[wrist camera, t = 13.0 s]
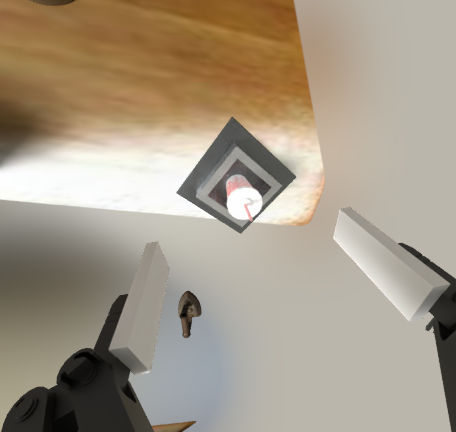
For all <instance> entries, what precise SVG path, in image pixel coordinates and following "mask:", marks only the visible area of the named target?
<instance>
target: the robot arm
mask: <svg viewBox="0 0 456 432" xmlns="http://www.w3.org/2000/svg"><path fill="white" fill-rule="evenodd" d="M30 1H33V2H36V3H39V4H44V5H52V6H53V5H63V4H66V3H69V2H71V1H73V0H30ZM333 238H334V240H335V241H336V242H337V243H338V244H339V245H340V246H341V248H342V249H343V250H344V251H345V252H346V253H347V254H348V255H349V256H350V257H351V259H353V261H354V262H355V263H356V264H357V265H358V266H359V267H360V268H361V269H362V271H363V272H365V274H366V275H367V276H368V277H369V278H370V279H371V280H372V281H373V282H374V283H375V285H376V286H377V287H378V288H379V289H380V290H381V291H382V292H383V294H384V295H385V296H386V297H387V298H388V299H389V300H390V301H391V302H392V303H393V304H394V306H395V307H396V308H397V309H398V310H399V311H400V312H401V313H402V314H403V315H404V317H405V318H407V320H408V321H412V320H417V319H423V318H424V317H425V316H426V314H427V313H428V312H430V313H431V314H432V315H433V316H434V318H433V319H432V320H431V321H430V323H429V324H428V325H427V326H426V330H427V331H429V330H430V329H431V328H432V326H433V329H434V332H433V333H434V334H435V340H436V346H437V351H438V357H439V362H440V368H441V373H442V380H443V385H444V391H445V397H446V403H447V408H448V414H449V420H450V425H451V431H452V432H456V279H455V278H454V277H452V276H451V275H449V274H448V273H447V272H445V271H444V270H443V269H441V268H440V267H438V266H437V265H436V264H434V263H433V262H430V260H429V259H428V258H426V257H425V256H422V254H421V253H419V252H418V251H416V250H415V249H414V248H412V247H410V246H408V245H406V244H403V243H396V242H395V241H393V240H392V239H391V238H390V237H388V236H387V235H386V234H384V233H383V232H382V231H380V230H379V229H378V228H376V227H375V226H374V225H372V224H371V223H370V222H369V221H367V220H366V219H365V218H363V217H362V216H361V215H359V214H358V213H357V212H356V211H354V210H353V209H352V208H350V207H349V208H343V209H340V210H339V214H338V219H337V223H336V228H335V233H334V237H333ZM168 273H169V266H168V264H167V262H166V259H165V257H164V255H163V253H162V250H161V248H160V246H159V243H158V242H152V243H147V244H146V247H145V250H144V253H143V255H142V258H141V261H140V264H139V267H138V269H137V272H136V275H135V277H134V281H133V283H132V286H131V289H130V291H129V294H125V295H120V296H119V297H118V298H117V299H116V301H115V302H114V303H113V305H112V307H111V309H110V312H109V315H108V316H107V319H106V321H105V324H104V326H103V328H102V331H101V333H100V335H99V338H98V340H97V342H96V345H95V347H94V350H93V349H91V348H85V349H81V350H79V351H78V352H76V353H75V354H73V355H72V356H71V357H70V358H69V359H67V361H66V362H65V363H64V365H63V366H62V367H61V369H60V371H59V373H58V376H57V384H58V385H56V386H54V387H52V388H50V389H47V388H45V387H36V388H34V389H32V390H30V391H28V392H27V393H26V394H24V395H23V396H22V397H21V398H20V399H19V400H18V401H17V402H16V403H15V404H14V405H13V407H12V408H11V410H10V411H9V413H8V414H7V417H6V419H5V421H4V424H3V427H2V431H1V432H154V430H153V428H152V426H151V424H150V422H149V420H148V418H147V416H146V414H145V412H144V410H143V408H142V406H141V404H140V402H139V400H138V398H137V396H136V394H135V392H134V390H133V388H132V386H131V384H130V382H129V381H128V378H129V374H130V371H131V372H132V373H133V374H134V375H139V374H144V373H149V372H151V368H152V362H153V357H154V351H155V345H156V340H157V334H158V329H159V324H160V318H161V312H162V306H163V301H164V295H165V290H166V285H167V279H168Z"/></svg>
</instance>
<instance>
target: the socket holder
mask: <svg viewBox="0 0 456 432" xmlns="http://www.w3.org/2000/svg"><path fill="white" fill-rule="evenodd" d="M233 175H242V176H244V177H245V178H246V179H247V181H248V182H249V183H250V185H251V186H252V187H253V188H254V189H256V190H257V191H258V192H259V194H260V195H261V197H262V202H263V203H262V207H261V210H260V211H259V212H258V214H257V215H255V216H254V217H252V219H253V221H254V220H255V219H256V218H257V217H258V216H259V215H260V214H261V213H262V212H263V211H264V210H265V209H266V207H267V206H268V205H269V204H270V203H271V202H272V201H273V200H274V199H275V198H276V197H277V196H278V195H279V194H280V193H281V192H282V191H283V190H284V189H285V188H286V187H287V186H288V185H289V184H290V183H291V182H292V181H293V180H294V179H295V178H296V177H295V176H294V175H293V174H292V173H291V172H290V171H289V170H288V169H287V168H286V167H285V166H284V165H283V164H282V163H280V162H279V161H278V160H277V159H276V158H275V157H274V156H273V155H272V154H271V153H270V152H269V151H268V150H267V149H266V148H264V147H263V146H262V145H261V144H260V143H259V142H258V141H257V140H256V139H255V138H254V137H253V136H252V135H251V134H249V133H248V132H247V131H246V130H245V129H244V128H243V127H242V126H241V125H240V124H239V123H238V122H237V121H236V120H234V119H233V118H231V119H230V120H229V122H228V123H227V124H226V126H225V127H224V128H223V130H222V131H221V133H220V134H219V135H218V137H217V138H216V139H215V141H214V142H213V143H212V145H211V146H210V148H209V149H208V150H207V152H206V153H205V154H204V156H203V157H202V158H201V160H200V161H199V163H198V164H197V165H196V167H195V168H194V169H193V171H192V172H191V173H190V175H189V176H188V178H187V179H186V180H185V182H184V183H183V184H182V186H181V187H180V188H179V190H178V191H177V192H176V193H177V194H179V195H181V196H182V197H184V198H185V199H187V200H188V201H190V202H192V203H193V204H195V205H196V206H198V207H199V208H201V209H203V210H204V211H206V212H207V213H209V214H210V215H212V216H214V217H215V218H217V219H218V220H220V221H221V222H223V223H225V224H226V225H228V226H229V227H231V228H233V229H234V230H236V231H237V232H239V233H242V232H243V231H244V230H245V229H246V228H247V227H248V226H249V225H250V224H251V223H252V222H253V221H250V220H249V219H246V220H241V219H237V218H235V217H233V216H232V215H231V214H230V213H229V211H228V208H227V199H228V198H227V190H226V183H227V181H228V179H229V178H230V177H231V176H233Z"/></svg>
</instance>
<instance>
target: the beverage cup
mask: <svg viewBox="0 0 456 432" xmlns="http://www.w3.org/2000/svg"><path fill="white" fill-rule="evenodd" d="M226 190H227V198H228V199H227V208H228V211H229V213H230V214H231V215H232V216H233V217H235V218H237V219H241V220H246V219H249V220H250V221H253V219H252V217H254V216H255V215H257V214H258V212H259V211H260V210H261V207H262V203H263V202H262V197H261V195H260V194H259V192H258V191H257V190H256V189H254V188H253V187H252V186H251V185H250V183H249V182H248V181H247V179H246V178H245V177H244V176H242V175H233V176H231V177H230V178H229V179H228V181H227V183H226Z"/></svg>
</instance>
